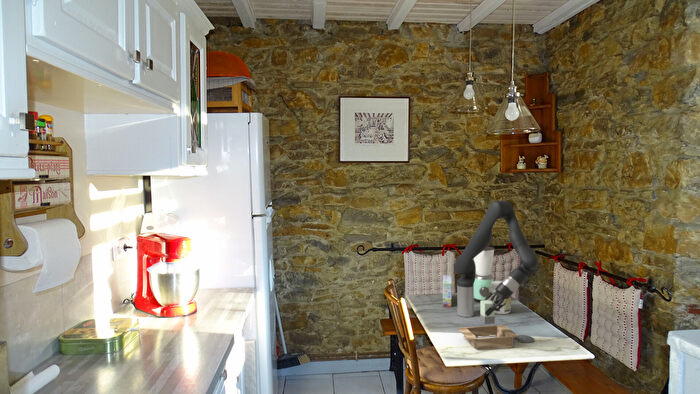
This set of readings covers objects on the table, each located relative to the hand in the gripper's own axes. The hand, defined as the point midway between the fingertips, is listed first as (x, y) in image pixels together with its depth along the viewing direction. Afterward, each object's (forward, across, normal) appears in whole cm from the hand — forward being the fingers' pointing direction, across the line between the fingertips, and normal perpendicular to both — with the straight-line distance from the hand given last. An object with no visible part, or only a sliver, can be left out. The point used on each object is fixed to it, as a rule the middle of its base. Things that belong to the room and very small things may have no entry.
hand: (483, 312), depth 211 cm
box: (+2, 0, +5) cm, 5 cm away
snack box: (+8, -65, +15) cm, 67 cm away
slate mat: (-4, 0, +25) cm, 25 cm away
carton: (+9, 0, +12) cm, 15 cm away
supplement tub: (-10, -42, +31) cm, 53 cm away
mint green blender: (-10, -65, +31) cm, 72 cm away
